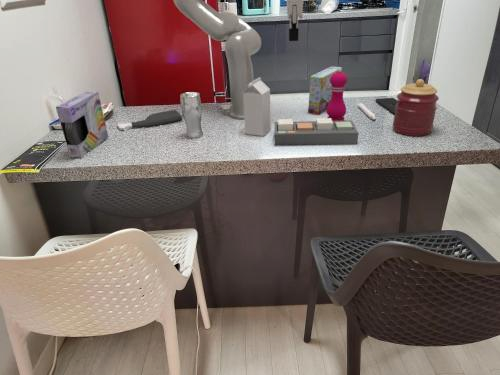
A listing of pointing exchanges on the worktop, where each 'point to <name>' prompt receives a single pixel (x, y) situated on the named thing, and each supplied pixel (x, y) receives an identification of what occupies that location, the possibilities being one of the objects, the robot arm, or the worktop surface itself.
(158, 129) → the worktop surface
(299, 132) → the keypad
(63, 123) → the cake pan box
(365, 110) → the marker
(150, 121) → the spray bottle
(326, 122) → the key white mid
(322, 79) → the snack box
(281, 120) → the key white left
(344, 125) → the key sage
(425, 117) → the canister
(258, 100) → the milk carton
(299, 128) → the key terracotta
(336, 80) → the pepper mill
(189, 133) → the beer glass
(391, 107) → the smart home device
